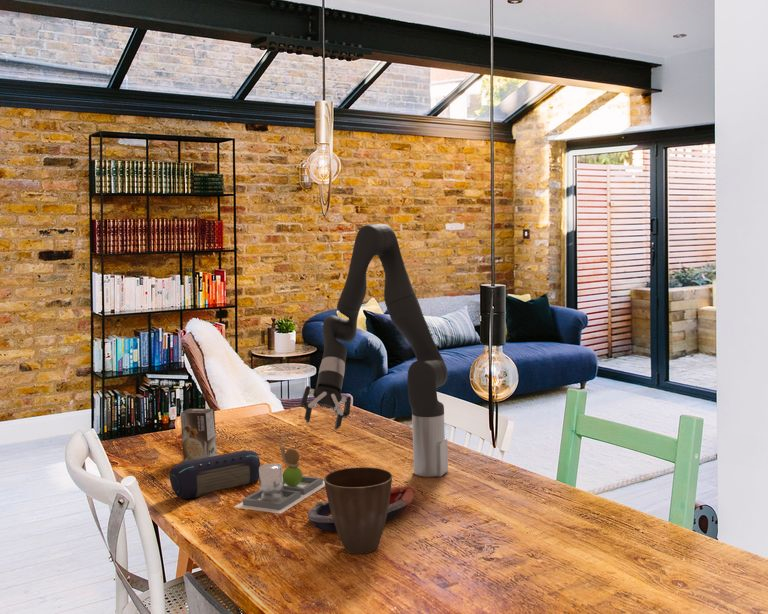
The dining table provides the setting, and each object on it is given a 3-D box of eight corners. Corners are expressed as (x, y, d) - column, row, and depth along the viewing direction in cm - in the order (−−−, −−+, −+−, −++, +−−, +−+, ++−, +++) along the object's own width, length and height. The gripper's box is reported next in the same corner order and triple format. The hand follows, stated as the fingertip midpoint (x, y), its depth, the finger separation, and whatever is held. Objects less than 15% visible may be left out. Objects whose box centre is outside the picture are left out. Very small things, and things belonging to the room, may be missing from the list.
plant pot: (312, 548, 170) (310, 478, 168) (362, 529, 180) (360, 462, 179) (358, 567, 159) (356, 492, 158) (408, 546, 170) (406, 475, 168)
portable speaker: (179, 506, 201) (177, 469, 200) (167, 496, 209) (165, 460, 208) (267, 486, 215) (266, 451, 214) (253, 478, 223) (251, 444, 222)
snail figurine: (288, 481, 214) (286, 438, 212) (307, 484, 210) (305, 441, 209) (276, 487, 209) (273, 443, 208) (295, 490, 206) (293, 446, 204)
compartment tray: (331, 487, 212) (330, 476, 212) (281, 519, 189) (280, 507, 188) (287, 482, 218) (287, 471, 218) (233, 512, 194) (233, 501, 194)
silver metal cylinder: (288, 498, 199) (286, 464, 198) (275, 506, 194) (274, 471, 193) (268, 496, 202) (267, 462, 201) (255, 503, 196) (254, 469, 195)
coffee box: (218, 458, 245) (215, 408, 243) (209, 464, 238) (206, 413, 237) (192, 457, 247) (189, 408, 245) (182, 463, 241) (179, 412, 239)
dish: (294, 523, 186) (293, 503, 186) (398, 496, 203) (398, 478, 203) (326, 543, 173) (325, 522, 173) (434, 513, 190) (434, 493, 190)
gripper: (311, 364, 225) (300, 414, 216) (357, 376, 228) (349, 426, 219) (305, 374, 231) (295, 424, 222) (350, 386, 234) (342, 435, 225)
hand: (322, 425), depth 221 cm, fingers open, 8 cm apart
